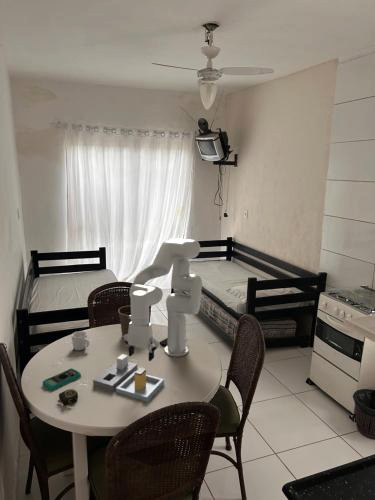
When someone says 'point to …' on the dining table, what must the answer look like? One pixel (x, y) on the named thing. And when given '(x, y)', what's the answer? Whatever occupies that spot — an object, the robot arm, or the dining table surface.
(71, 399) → the tape measure
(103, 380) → the fuse block
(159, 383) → the parts tray
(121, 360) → the block
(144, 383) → the block
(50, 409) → the dining table surface
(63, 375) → the digital multimeter
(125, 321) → the plant pot
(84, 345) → the cup
